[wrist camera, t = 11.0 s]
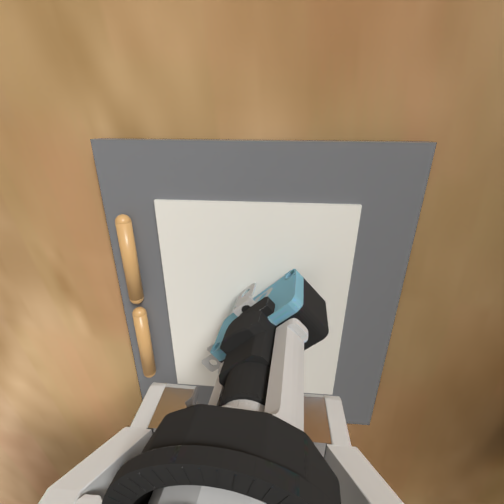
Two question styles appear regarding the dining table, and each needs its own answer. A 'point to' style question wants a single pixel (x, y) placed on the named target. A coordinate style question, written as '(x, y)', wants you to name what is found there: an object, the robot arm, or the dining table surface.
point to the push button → (243, 415)
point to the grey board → (261, 247)
